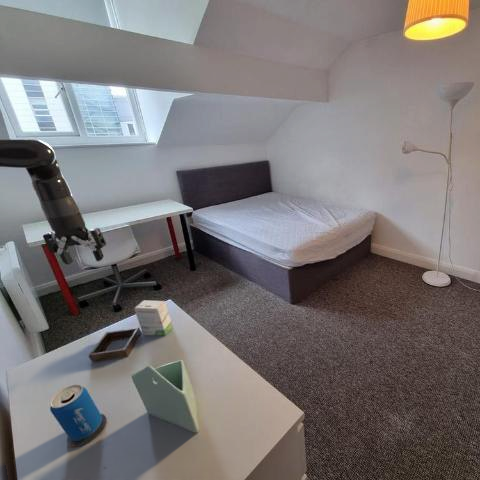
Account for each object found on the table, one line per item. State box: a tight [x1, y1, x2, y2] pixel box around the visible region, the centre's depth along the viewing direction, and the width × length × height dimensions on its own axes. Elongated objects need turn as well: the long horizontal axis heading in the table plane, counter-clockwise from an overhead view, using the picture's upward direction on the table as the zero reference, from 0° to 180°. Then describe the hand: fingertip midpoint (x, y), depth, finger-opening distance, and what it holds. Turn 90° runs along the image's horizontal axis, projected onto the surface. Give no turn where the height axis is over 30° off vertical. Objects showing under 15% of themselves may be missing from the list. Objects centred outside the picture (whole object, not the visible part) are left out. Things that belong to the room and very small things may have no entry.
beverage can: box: [49, 384, 102, 441], centre depth 64 cm, size 6×6×12 cm
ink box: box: [133, 299, 173, 337], centre depth 95 cm, size 9×5×12 cm, turn 86°
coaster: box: [66, 413, 108, 448], centre depth 66 cm, size 8×8×1 cm
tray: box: [88, 326, 143, 363], centre depth 90 cm, size 11×11×3 cm
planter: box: [131, 359, 200, 434], centre depth 67 cm, size 16×8×20 cm, turn 71°
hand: (85, 261), depth 84 cm, fingers open, 8 cm apart
